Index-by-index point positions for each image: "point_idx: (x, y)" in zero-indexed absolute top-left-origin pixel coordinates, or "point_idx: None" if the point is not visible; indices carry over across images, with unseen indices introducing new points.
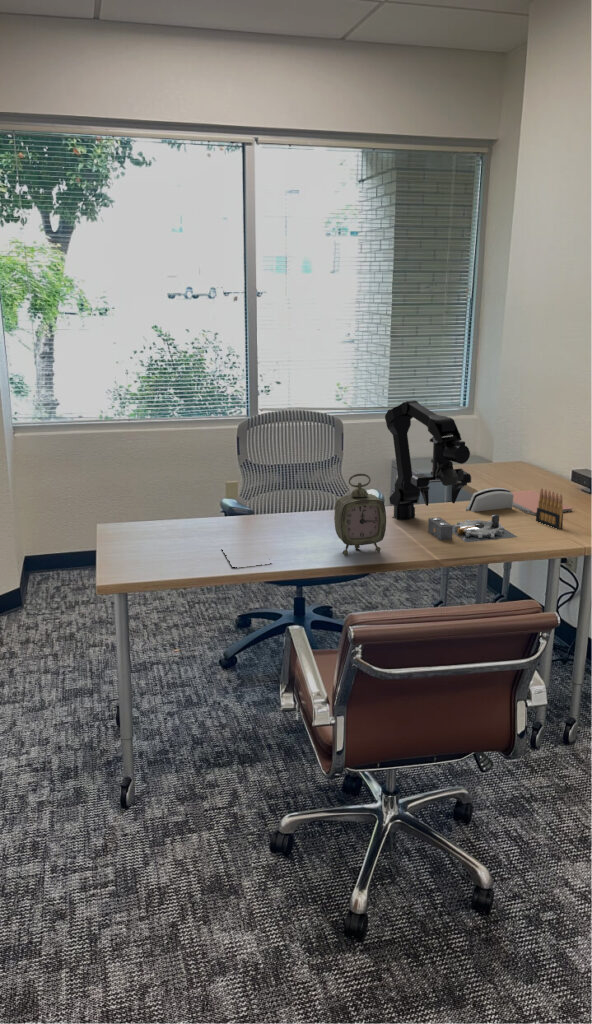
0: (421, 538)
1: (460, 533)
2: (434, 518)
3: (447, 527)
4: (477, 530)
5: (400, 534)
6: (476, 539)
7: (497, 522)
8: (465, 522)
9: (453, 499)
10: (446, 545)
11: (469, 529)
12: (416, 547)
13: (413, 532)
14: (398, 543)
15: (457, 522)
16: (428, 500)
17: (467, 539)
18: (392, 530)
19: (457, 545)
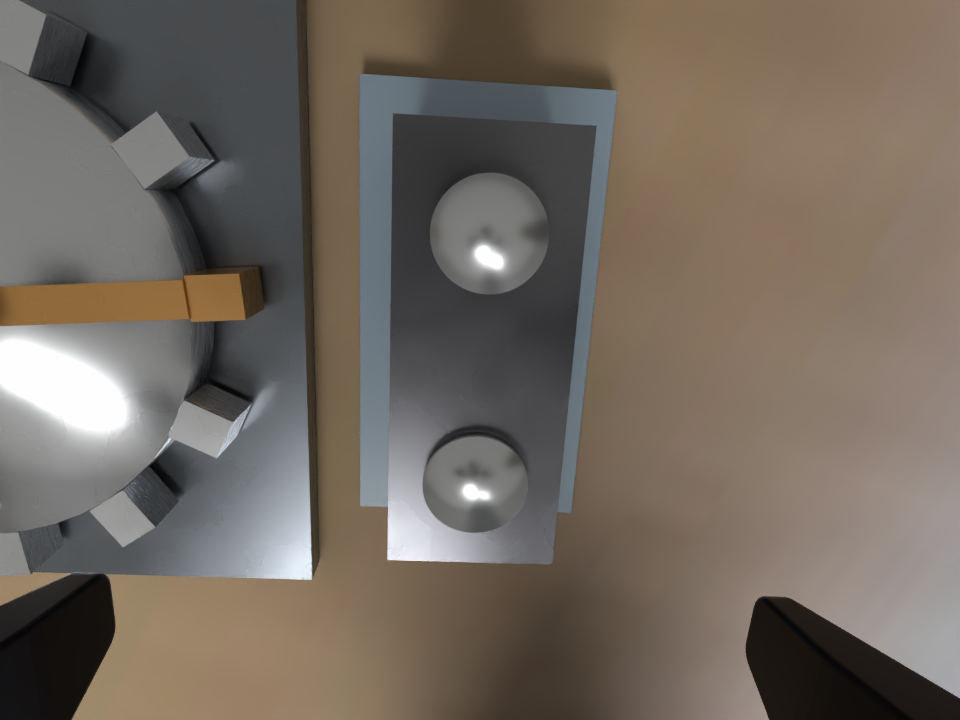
0: (651, 370)
1: (238, 267)
2: (500, 508)
3: (483, 120)
4: (11, 155)
5: (768, 537)
6: (123, 9)
7: None
8: (58, 496)
9: (38, 649)
10: (523, 58)
11: (105, 234)
12: (856, 120)
13: (629, 550)
14: (940, 308)
15: (153, 524)
16: (856, 680)
17: (236, 54)
18: None
19: (404, 7)
